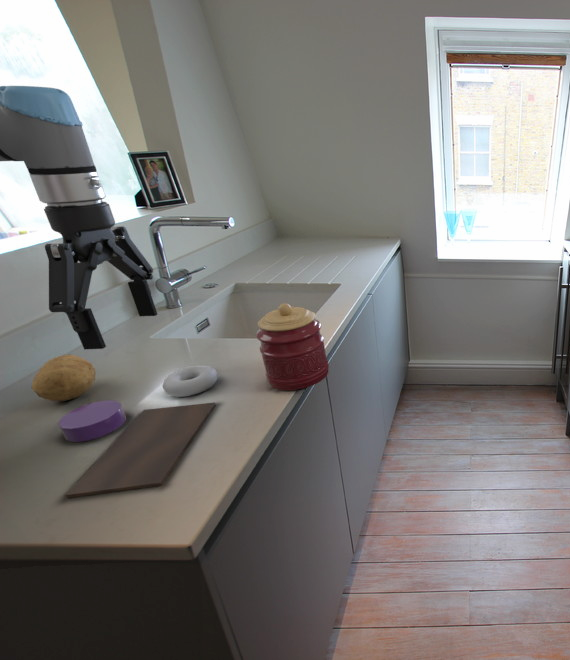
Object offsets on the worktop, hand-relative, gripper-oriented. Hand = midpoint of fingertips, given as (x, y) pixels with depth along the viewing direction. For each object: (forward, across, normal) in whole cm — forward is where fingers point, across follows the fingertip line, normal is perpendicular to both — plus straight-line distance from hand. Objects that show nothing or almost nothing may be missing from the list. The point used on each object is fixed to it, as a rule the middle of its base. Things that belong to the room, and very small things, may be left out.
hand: (124, 330), depth 76 cm
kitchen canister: (+20, +16, -21) cm, 33 cm away
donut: (+20, +14, +1) cm, 24 cm away
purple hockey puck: (+20, +1, +12) cm, 23 cm away
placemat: (+20, -6, -2) cm, 21 cm away
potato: (+20, +14, +25) cm, 35 cm away
